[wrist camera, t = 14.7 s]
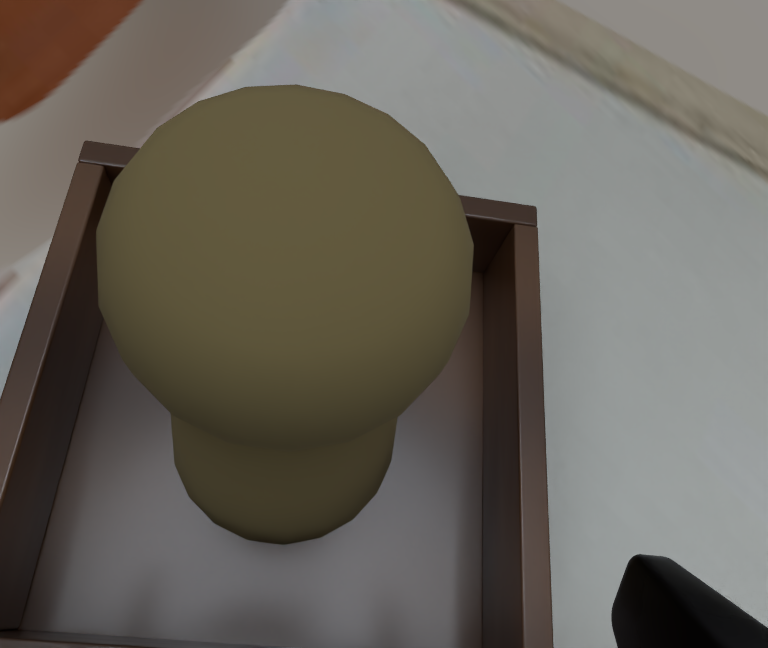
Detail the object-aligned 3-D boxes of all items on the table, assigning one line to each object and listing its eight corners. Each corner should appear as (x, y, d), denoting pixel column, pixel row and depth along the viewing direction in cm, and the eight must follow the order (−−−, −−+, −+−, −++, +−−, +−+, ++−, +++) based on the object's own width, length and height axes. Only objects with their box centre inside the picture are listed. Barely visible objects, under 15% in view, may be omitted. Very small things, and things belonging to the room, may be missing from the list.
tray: (501, 691, 16) (556, 711, 13) (-12, 659, 15) (-92, 674, 12) (498, 266, 21) (537, 205, 18) (115, 214, 20) (83, 138, 17)
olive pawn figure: (360, 574, 16) (485, 524, 6) (132, 505, 16) (-99, 344, 6) (417, 363, 19) (570, 94, 9) (221, 301, 19) (156, -41, 9)
